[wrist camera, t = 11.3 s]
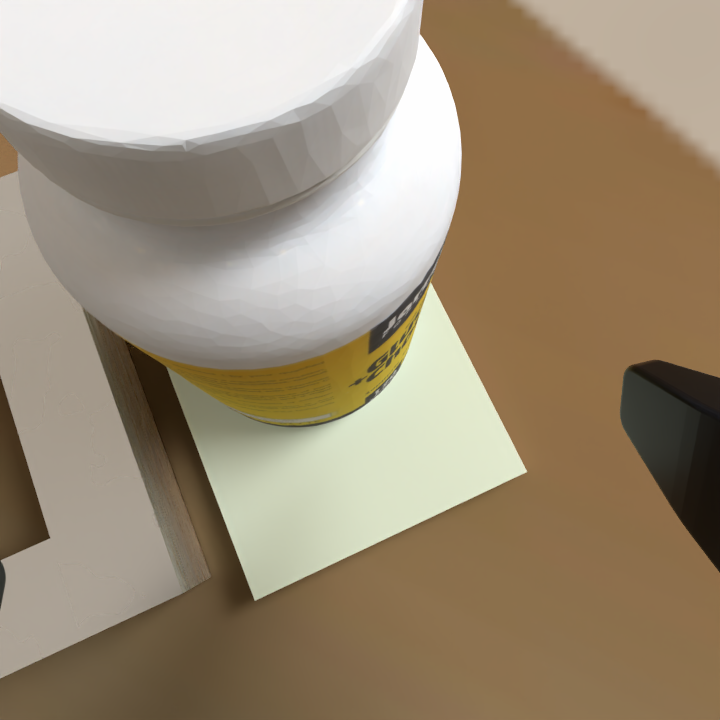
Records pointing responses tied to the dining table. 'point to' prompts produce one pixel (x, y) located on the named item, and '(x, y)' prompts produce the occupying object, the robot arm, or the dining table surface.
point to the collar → (81, 465)
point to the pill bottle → (238, 184)
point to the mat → (353, 461)
